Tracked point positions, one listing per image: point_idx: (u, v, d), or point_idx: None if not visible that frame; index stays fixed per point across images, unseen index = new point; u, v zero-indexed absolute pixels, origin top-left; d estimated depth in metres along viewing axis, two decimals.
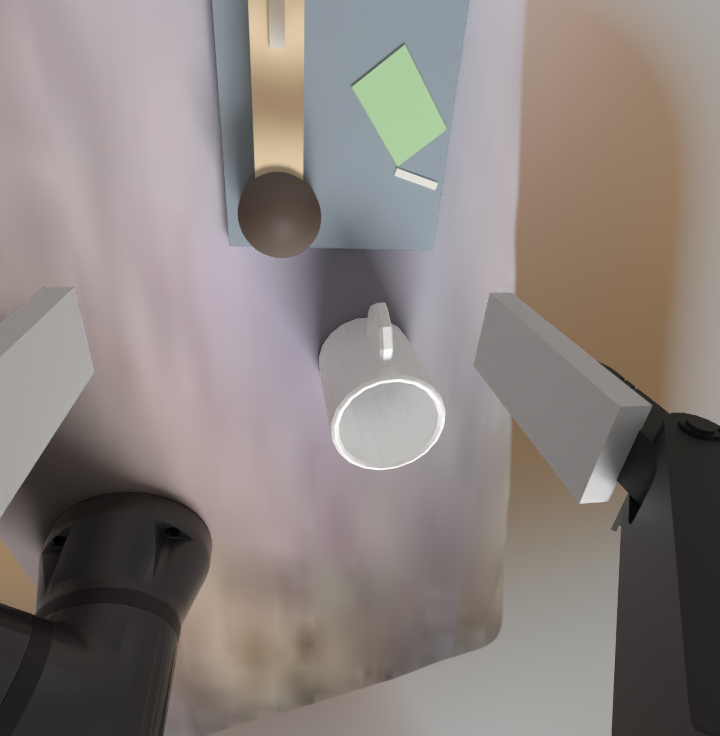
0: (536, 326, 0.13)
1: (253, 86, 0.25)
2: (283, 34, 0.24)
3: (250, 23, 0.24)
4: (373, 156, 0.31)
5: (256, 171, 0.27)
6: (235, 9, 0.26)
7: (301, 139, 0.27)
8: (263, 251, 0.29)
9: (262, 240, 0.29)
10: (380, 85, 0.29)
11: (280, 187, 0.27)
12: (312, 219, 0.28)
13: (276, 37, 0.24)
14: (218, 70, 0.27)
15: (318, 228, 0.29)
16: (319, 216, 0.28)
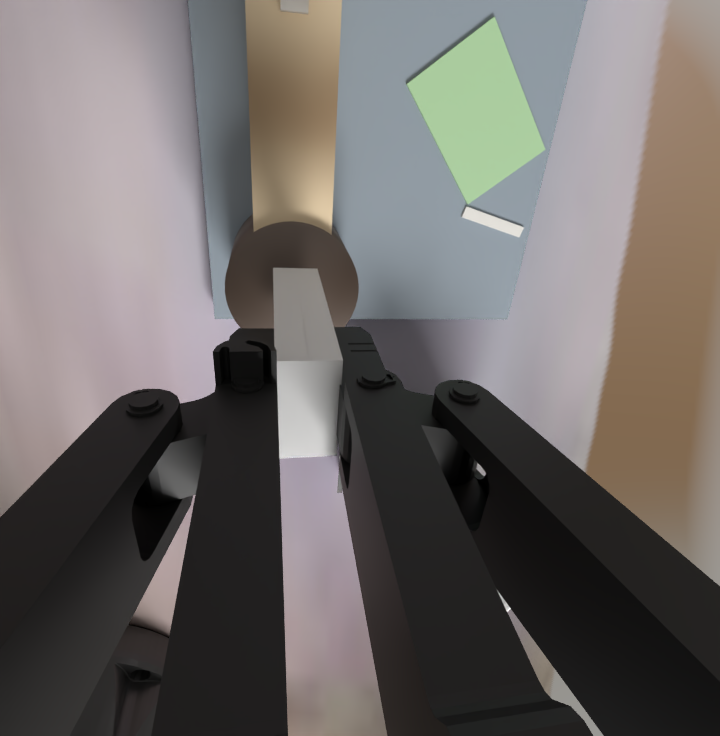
0: (307, 296, 0.13)
1: (251, 80, 0.14)
2: None
3: None
4: (432, 189, 0.21)
5: (255, 221, 0.16)
6: None
7: (331, 170, 0.16)
8: None
9: (264, 326, 0.18)
10: (451, 82, 0.19)
11: (295, 246, 0.17)
12: (344, 293, 0.18)
13: None
14: (194, 54, 0.17)
15: (353, 307, 0.18)
16: (355, 289, 0.18)
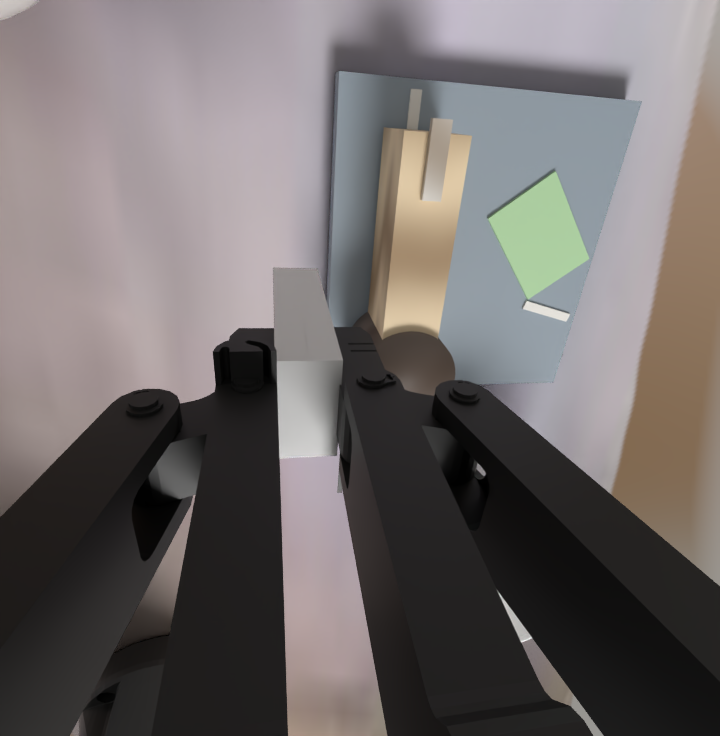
0: (307, 296, 0.13)
1: (394, 242, 0.20)
2: (441, 186, 0.19)
3: (401, 174, 0.19)
4: (501, 289, 0.26)
5: (384, 332, 0.22)
6: (363, 139, 0.21)
7: (442, 296, 0.22)
8: None
9: None
10: (521, 216, 0.24)
11: (412, 349, 0.22)
12: (444, 380, 0.23)
13: (432, 190, 0.19)
14: (335, 205, 0.23)
15: None
16: (452, 377, 0.23)
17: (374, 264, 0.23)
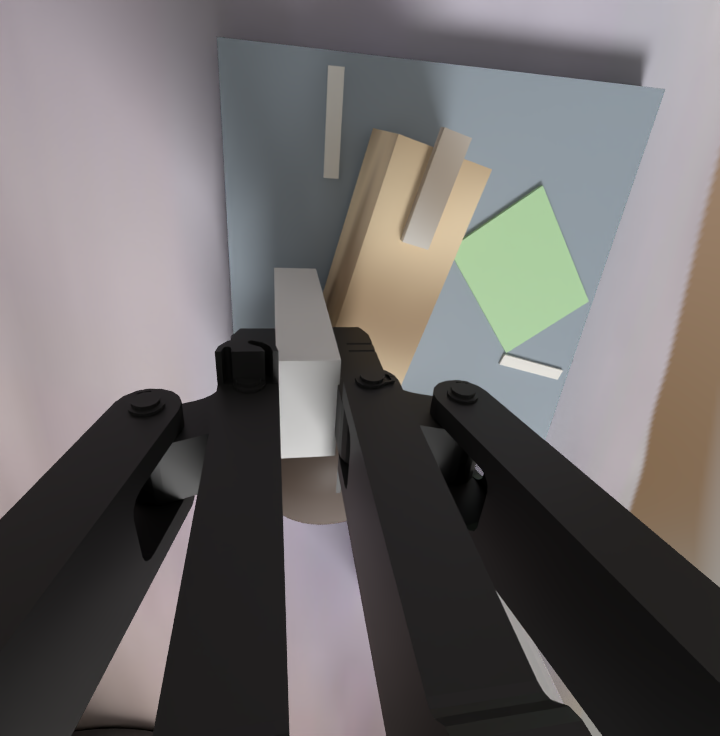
0: (306, 296, 0.13)
1: (351, 289, 0.14)
2: (433, 228, 0.13)
3: (381, 196, 0.13)
4: (470, 340, 0.20)
5: None
6: (263, 138, 0.15)
7: (401, 375, 0.15)
8: (286, 513, 0.17)
9: (290, 500, 0.17)
10: (494, 246, 0.18)
11: None
12: None
13: (420, 230, 0.13)
14: (230, 231, 0.16)
15: None
16: None
17: None
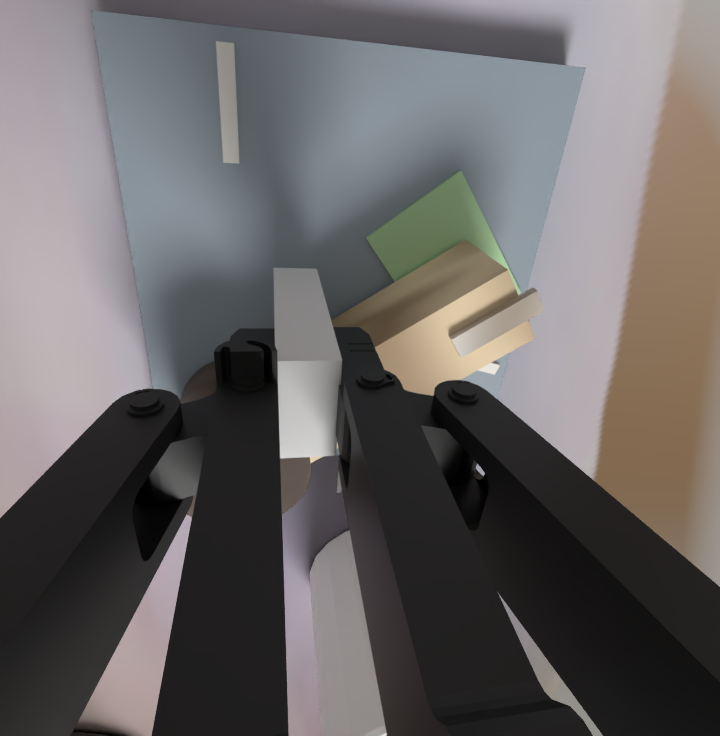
0: (306, 296, 0.13)
1: (387, 343, 0.15)
2: (476, 347, 0.15)
3: (463, 298, 0.14)
4: None
5: None
6: (153, 120, 0.14)
7: None
8: None
9: None
10: (415, 234, 0.17)
11: None
12: None
13: (468, 341, 0.15)
14: (128, 219, 0.15)
15: None
16: None
17: None
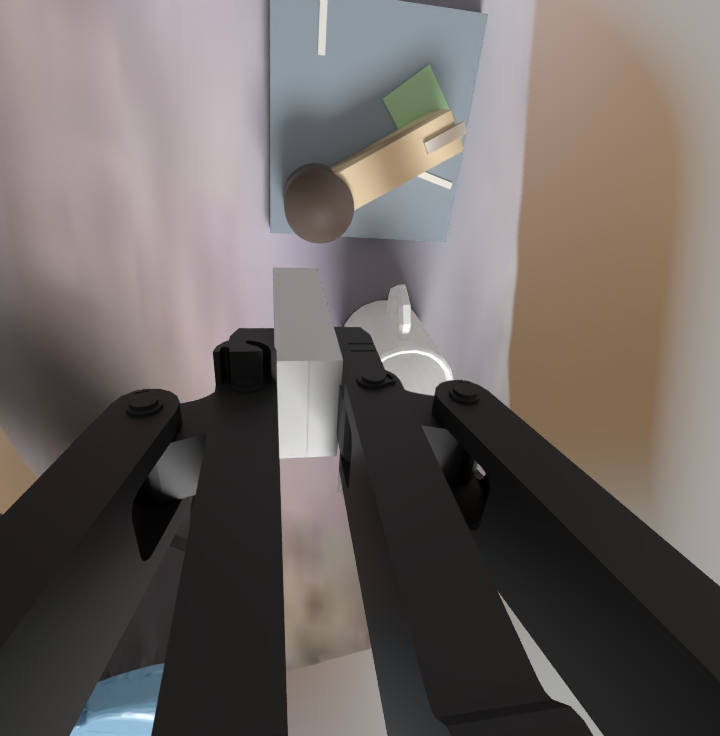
0: (307, 296, 0.13)
1: (395, 143, 0.32)
2: (435, 149, 0.32)
3: (430, 122, 0.32)
4: None
5: (340, 173, 0.32)
6: (289, 32, 0.31)
7: (379, 194, 0.34)
8: (286, 209, 0.33)
9: (294, 203, 0.33)
10: (406, 98, 0.34)
11: (341, 197, 0.33)
12: (331, 232, 0.34)
13: (432, 145, 0.32)
14: (271, 82, 0.32)
15: (327, 241, 0.34)
16: (336, 237, 0.34)
17: (363, 150, 0.35)
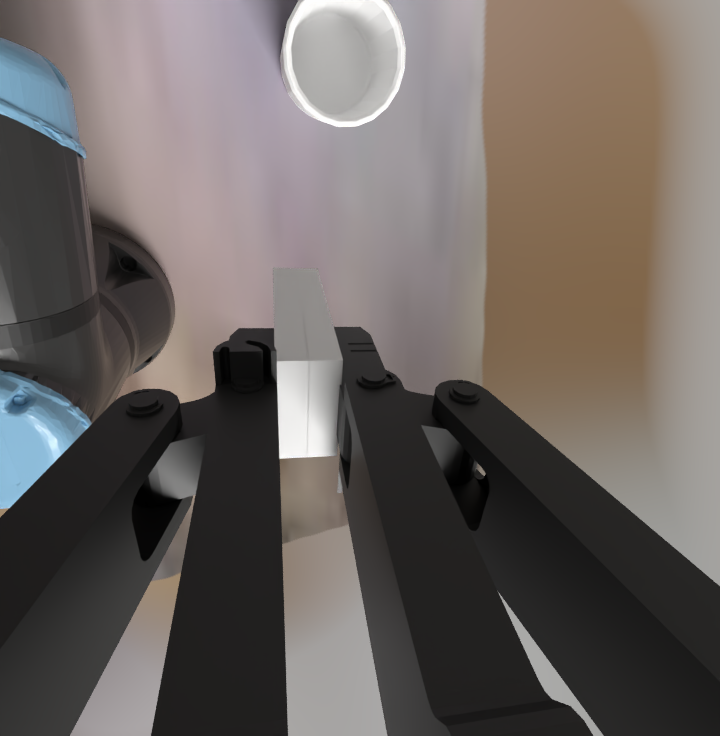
0: (307, 296, 0.13)
1: None
2: None
3: None
4: None
5: None
6: None
7: None
8: None
9: None
10: None
11: None
12: None
13: None
14: None
15: None
16: None
17: None
